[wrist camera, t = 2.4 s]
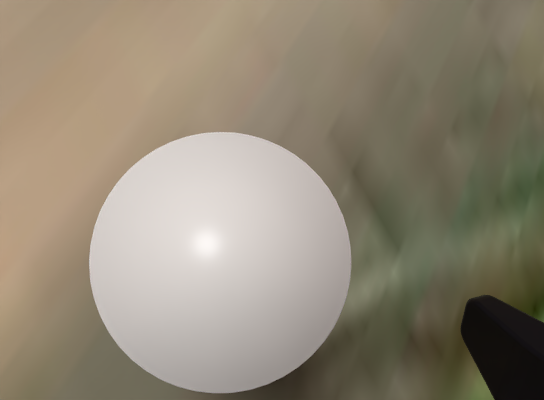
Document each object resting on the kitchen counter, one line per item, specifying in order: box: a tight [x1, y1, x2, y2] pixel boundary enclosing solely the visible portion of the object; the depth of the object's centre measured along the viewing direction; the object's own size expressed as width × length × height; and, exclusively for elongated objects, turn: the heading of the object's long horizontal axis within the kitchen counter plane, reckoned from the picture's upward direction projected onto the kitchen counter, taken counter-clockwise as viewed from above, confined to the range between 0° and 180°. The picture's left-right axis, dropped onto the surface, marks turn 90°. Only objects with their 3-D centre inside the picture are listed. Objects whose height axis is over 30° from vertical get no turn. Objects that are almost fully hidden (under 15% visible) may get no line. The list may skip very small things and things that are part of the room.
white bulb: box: [89, 132, 351, 393], centre depth 13 cm, size 6×6×11 cm
